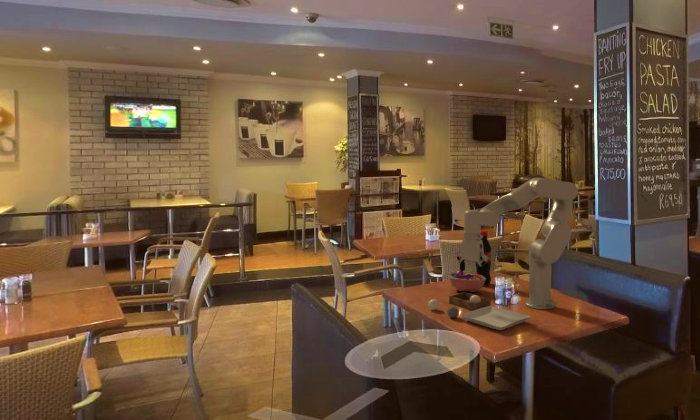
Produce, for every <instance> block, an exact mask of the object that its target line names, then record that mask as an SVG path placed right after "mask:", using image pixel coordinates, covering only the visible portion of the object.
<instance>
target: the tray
mask: <svg viewBox="0 0 700 420" xmlns="http://www.w3.org/2000/svg"><path fill="white" fill-rule="evenodd" d="M473 295H474V294H473V293H468V292H467V291H463V292H460V293H456V294H451V295H449V296H448V299H449V301H448V304H450V305H454V306H457V307H460V308H463V309H467V310H468V311H469V310H470V311H474V310H477V309H480V308H484V307H487V306H492V305H491V304H492V303H491V299H490V298H487V297H486V298H485V297H483V296H479V295H478V296H479V297H480V299H481V302H478V303H472V302H470V298H471V296H473Z"/></svg>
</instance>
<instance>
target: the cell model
mask: <svg viewBox="0 0 700 420" xmlns="http://www.w3.org/2000/svg"><path fill="white" fill-rule="evenodd" d="M476 273H477V272H476ZM476 273H475V272H464V271H460V269H458V270H457V271H456V272H451V273H449V274H448V275H447V277H448V279H449V283H450V284H451V286H452V287H453V288H454V289H455V290H456V291H458V292H462V291H463V292H470V293H476V292H478V291H479V290H481V289H482V288H483V285H484V283H485V280H486V278H485V277H484V276H482V275H478V274H476Z"/></svg>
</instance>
